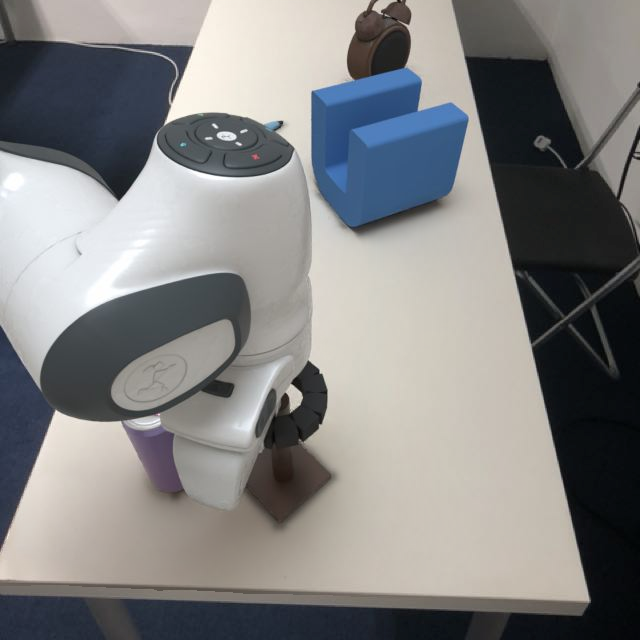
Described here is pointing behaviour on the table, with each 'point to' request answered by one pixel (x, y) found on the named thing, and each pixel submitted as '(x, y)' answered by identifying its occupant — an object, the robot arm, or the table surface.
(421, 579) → the table surface
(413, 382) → the table surface
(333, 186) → the block
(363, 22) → the alarm clock
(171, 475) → the beverage can
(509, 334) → the table surface
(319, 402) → the ring
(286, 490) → the post
